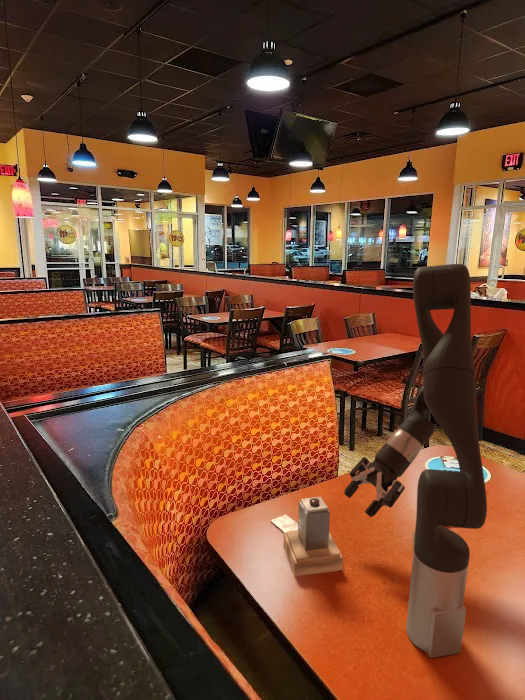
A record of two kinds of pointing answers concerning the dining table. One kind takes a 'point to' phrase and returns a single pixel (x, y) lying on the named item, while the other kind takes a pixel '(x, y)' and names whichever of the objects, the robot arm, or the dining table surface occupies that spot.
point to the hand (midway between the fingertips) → (356, 505)
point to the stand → (311, 556)
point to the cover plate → (285, 523)
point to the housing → (313, 523)
